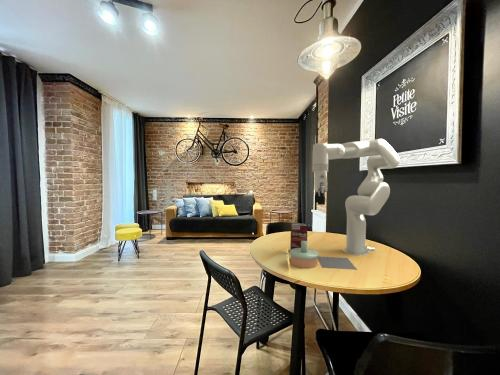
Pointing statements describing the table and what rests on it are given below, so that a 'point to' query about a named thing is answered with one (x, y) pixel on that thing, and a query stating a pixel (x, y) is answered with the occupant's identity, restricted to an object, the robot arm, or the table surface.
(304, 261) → the bowl
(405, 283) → the table surface
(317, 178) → the robot arm
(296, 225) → the supplement box
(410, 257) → the table surface
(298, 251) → the lid
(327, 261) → the mat
